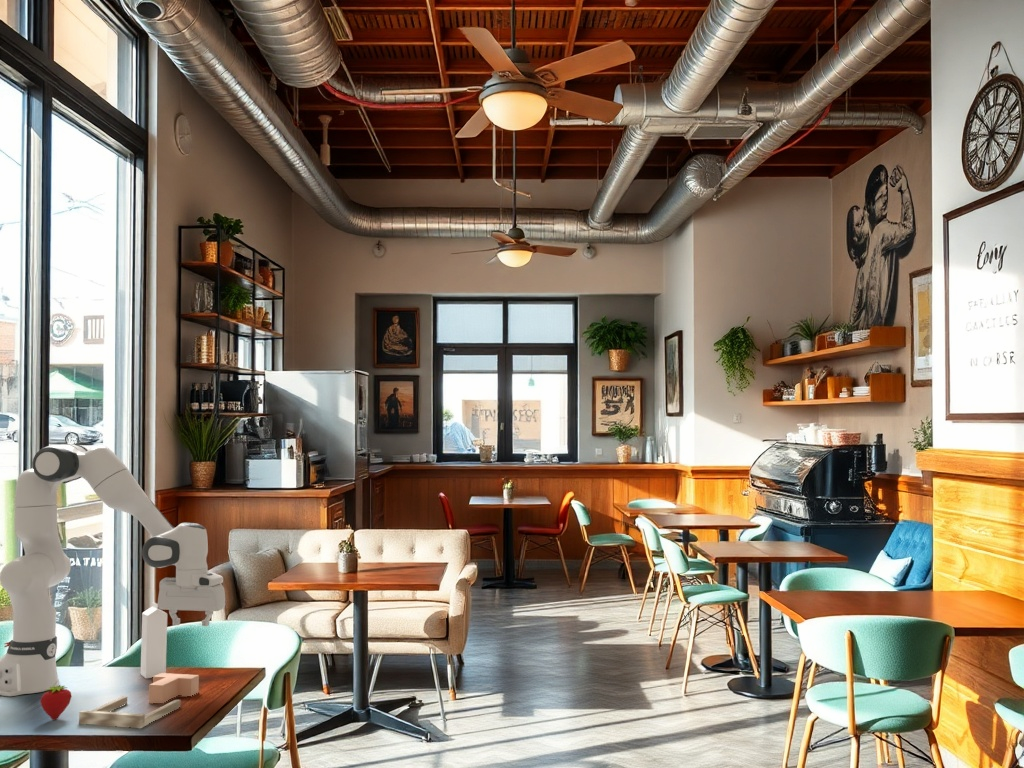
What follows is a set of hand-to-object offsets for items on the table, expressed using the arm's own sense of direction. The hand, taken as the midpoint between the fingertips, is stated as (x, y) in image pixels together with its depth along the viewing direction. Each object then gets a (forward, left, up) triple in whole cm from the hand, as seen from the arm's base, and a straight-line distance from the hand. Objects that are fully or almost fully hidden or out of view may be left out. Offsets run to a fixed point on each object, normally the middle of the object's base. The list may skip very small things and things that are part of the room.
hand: (190, 625), depth 263 cm
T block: (0, -11, -18) cm, 21 cm away
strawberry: (-17, -35, -18) cm, 43 cm away
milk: (-18, +10, -18) cm, 27 cm away
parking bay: (0, -27, -18) cm, 32 cm away
